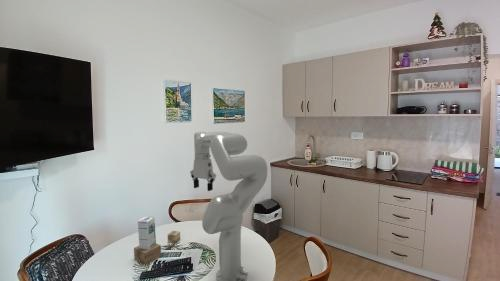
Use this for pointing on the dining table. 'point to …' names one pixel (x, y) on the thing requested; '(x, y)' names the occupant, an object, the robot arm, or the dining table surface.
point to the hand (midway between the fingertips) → (203, 189)
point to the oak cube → (174, 237)
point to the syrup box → (146, 233)
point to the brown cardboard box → (147, 254)
